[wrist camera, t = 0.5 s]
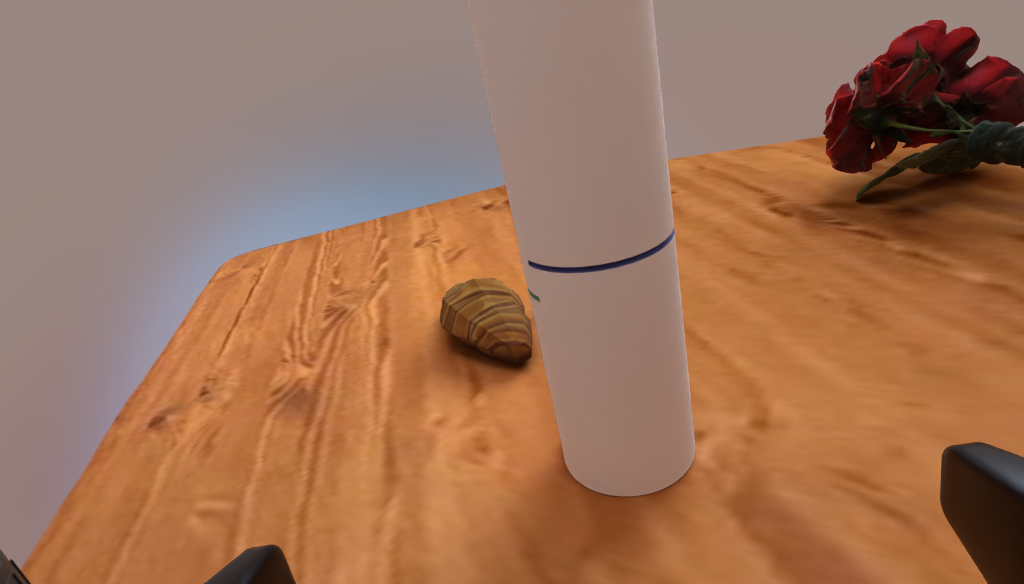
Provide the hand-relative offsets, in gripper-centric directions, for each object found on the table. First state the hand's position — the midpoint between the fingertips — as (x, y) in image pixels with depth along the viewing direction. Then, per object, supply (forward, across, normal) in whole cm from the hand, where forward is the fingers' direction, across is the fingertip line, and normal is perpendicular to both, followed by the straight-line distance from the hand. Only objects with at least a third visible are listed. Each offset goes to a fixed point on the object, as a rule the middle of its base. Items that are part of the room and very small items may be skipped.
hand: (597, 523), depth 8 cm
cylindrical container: (+22, -2, +15) cm, 27 cm away
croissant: (+38, +7, +13) cm, 41 cm away
